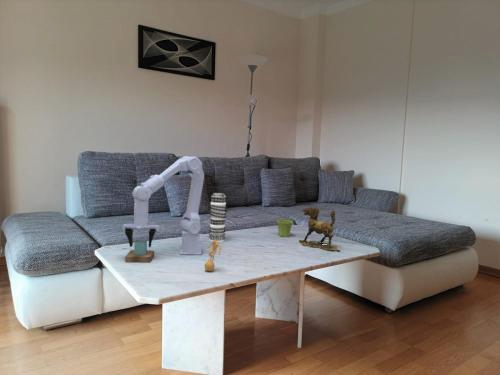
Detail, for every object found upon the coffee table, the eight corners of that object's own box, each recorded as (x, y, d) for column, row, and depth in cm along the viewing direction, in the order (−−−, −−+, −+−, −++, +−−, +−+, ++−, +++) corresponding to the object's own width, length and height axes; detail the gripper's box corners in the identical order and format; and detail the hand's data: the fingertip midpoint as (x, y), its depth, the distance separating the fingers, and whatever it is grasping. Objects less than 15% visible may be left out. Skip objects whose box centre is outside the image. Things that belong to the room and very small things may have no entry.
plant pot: (294, 237, 205) (295, 222, 204) (278, 237, 203) (279, 222, 202) (289, 234, 214) (290, 219, 213) (273, 234, 212) (274, 219, 211)
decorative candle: (204, 239, 191) (206, 192, 188) (217, 237, 198) (218, 192, 195) (216, 243, 185) (218, 194, 182) (229, 240, 192) (231, 193, 189)
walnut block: (154, 257, 158) (154, 250, 158) (150, 264, 149) (150, 257, 148) (130, 256, 157) (131, 249, 157) (125, 263, 147) (125, 256, 147)
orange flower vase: (198, 269, 143) (199, 239, 142) (210, 266, 147) (211, 237, 146) (212, 274, 137) (213, 244, 136) (224, 271, 142) (225, 241, 140)
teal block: (146, 251, 155) (146, 240, 155) (145, 254, 151) (145, 243, 150) (135, 251, 155) (136, 240, 154) (134, 254, 150) (134, 243, 150)
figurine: (308, 239, 202) (310, 204, 200) (346, 250, 184) (349, 210, 182) (293, 242, 194) (295, 205, 192) (331, 253, 175) (334, 212, 173)
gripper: (120, 215, 146) (120, 248, 148) (157, 216, 148) (156, 249, 149) (124, 213, 153) (124, 244, 155) (159, 213, 155) (159, 244, 156)
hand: (140, 246), depth 152 cm, fingers open, 7 cm apart
